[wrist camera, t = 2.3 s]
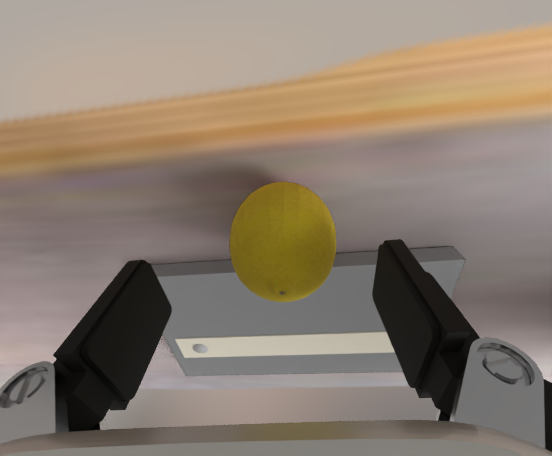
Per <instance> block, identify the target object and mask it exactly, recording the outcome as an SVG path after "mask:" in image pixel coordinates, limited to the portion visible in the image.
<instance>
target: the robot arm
mask: <svg viewBox="0 0 552 456" xmlns="http://www.w3.org/2000/svg"><path fill="white" fill-rule="evenodd" d="M372 297H373V301H374V303H375V306H376V308H377V311H378V313H379V315H380V318H381V320H382V323H383V325H384V327H385V330H386V332H387V335H388V337H389V339H390V342H391V344H392V347H393V349H394V351H395V354H396V356H397V358H398V361H399V363H400V366H401V368H402V370H403V373H404V375H405V378H406V380H407V382H408V384H409V386H410V387H411V388H415V389H416V391H417V394H418V396H419V398H432V400H433V402H434V404H435V407H436V408H438V409H439V410H438V413H437V417H436V421H431V420H430V421H429V420H380V421H379V420H377V421H336V422H302V423H269V424H240V425H213V426H185V427H159V428H134V429H109V430H107V424H106V419H105V415H106V413H107V411H108V409H110V410H125V409H126V407H127V405H128V403H129V401H130V400H131V399H132V398H133V397H134V396H135V394H136V392H137V390H138V388H139V386H140V383H141V381H142V379H143V377H144V374H145V372H146V370H147V368H148V365H149V363H150V361H151V359H152V356H153V354H154V352H155V350H156V347H157V345H158V343H159V341H160V338H161V336H162V334H163V332H164V329H165V327H166V325H167V323H168V320H169V318H170V316H171V313H172V307H171V304H170V302H169V300H168V298H167V296H166V294H165V292H164V290H163V288H162V286H161V284H160V282H159V280H158V278H157V276H156V274H155V272H154V270H153V268H152V266H151V264H149V263H147V262H146V261H145V260H136V261H129V262H127V263H126V265H125V266H124V267H123V268H122V270H121V271H120V272H119V273H118V275H117V276H116V277H115V278H114V280H113V281H112V282H111V283H110V285H109V286H108V287H107V288H106V290H105V291H104V292H103V293H102V295H101V296H100V297H99V298H98V300H97V301H96V302H95V303H94V305H93V306H92V307H91V308H90V310H89V311H88V312H87V313H86V315H85V316H84V317H83V318H82V320H81V321H80V322H79V323H78V325H77V326H76V327H75V328H74V330H73V331H72V332H71V333H70V335H69V336H68V337H67V338H66V340H65V341H64V342H63V343H62V345H61V346H60V347H59V348H58V350H57V351H56V352H55V353H54V355H53V356H54V357H56V358H57V360H56V361H55V362H54V364H52V363H50V362H45V361H43V362H39V363H35V364H33V365H30V366H28V367H26V368H24V369H23V370H21V371H20V372H18V373H17V374H15V375H14V376H13V377H12V378H10V379H9V380H8V381H7V382H6V383H5V384H4V385H3V386H2V387H1V388H0V456H552V383H551V382H549V381H547V380H545V379H543V376H542V372H541V371H540V369H539V368H538V366H537V364H536V363H535V362H534V361H533V360H532V359H531V358H530V357H529V356H528V355H527V354H525V353H524V352H523V351H521V350H520V349H519V348H517V347H515V346H513V345H511V344H509V343H507V342H505V341H502V340H499V339H495V338H487V337H486V338H480V337H479V336H478V334H477V333H476V332H475V330H474V329H473V328H472V327H471V325H470V324H469V323H468V321H467V320H466V319H465V317H464V316H463V315H462V313H461V312H460V311H459V309H458V308H457V307H456V306H455V304H454V303H453V302H452V300H451V299H450V298H449V296H448V295H447V294H446V292H445V291H444V290H443V289H442V287H441V286H440V285H439V283H438V282H437V281H436V279H435V278H434V277H433V276H432V275H431V274H430V273H429V272H425V270H424V269H423V268H422V266H421V265H420V264H419V262H418V261H417V260H416V258H415V257H414V256H413V254H412V253H411V252H410V250H409V249H408V247H407V246H406V245H405V243H404V242H403V241H402V240H400V239H399V240H386V241H384V244H382V245H380V246H379V250H378V257H377V264H376V270H375V277H374V284H373V291H372Z"/></svg>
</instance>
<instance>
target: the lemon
mask: <svg viewBox="0 0 552 456" xmlns="http://www.w3.org/2000/svg"><path fill="white" fill-rule="evenodd" d="M229 246H230V254H231V259H232V265H233V267H234V270H235V272H236V274H237V276H238V278H239V279H240V281H241V282H242V283H243V284H244V285H245V286H246V287H247V288H248V289H249V290H250V291H251V292H253V293H254V294H256V295H257V296H259V297H262V298H264V299H266V300H270V301H275V302H291V301H296V300H299V299H302V298H305V297H306V296H308V295H310V294H312V293H313V292H315V291H316V290H317V289H318V288H319V287H320V286H321V285H322V284H323V283H324V282H325V280H326V278H327V277H328V275H329V274H330V272H331V269H332V266H333V262H334V259H335V254H336V231H335V225H334V222H333V220H332V217H331V214H330V212H329V210H328V208H327V207H326V205H325V204H324V203H323V201H322V200H321V199H320V198H319V196H317V195H316V194H315V193H313V192H312V191H311V190H309V189H308V188H306V187H304V186H301V185H299V184H297V183H290V182H276V183H271V184H268V185H265V186H262V187H260V188H259V189H257V190H256V191H254V192H253V193H251V194H250V195H249V196H248V197H247V198H246V200H245V201H244V202H243V203H242V204H241V205H240V207H239V209H238V211H237V213H236V215H235V217H234V220H233V222H232V226H231V234H230V244H229Z"/></svg>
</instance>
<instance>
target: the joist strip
mask: <svg viewBox="0 0 552 456" xmlns="http://www.w3.org/2000/svg"><path fill="white" fill-rule="evenodd" d="M175 340H176V342H177V344H178V346H179V348H180V350H181V352H182V354H183V356H184V357H185V358H200V357H238V356H277V355H315V354H353V353H392V352H395V351H394V349H393V347H392V344H391V342H390V339H389V337H388V335H387V332H386V331H376V332H346V333H316V334H287V335H257V336H227V337H197V338H175Z"/></svg>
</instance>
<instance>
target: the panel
mask: <svg viewBox="0 0 552 456" xmlns="http://www.w3.org/2000/svg"><path fill="white" fill-rule="evenodd" d="M409 250H410V252H411V253H412V254H413V256H414V257H415V258H416V260H417V261H418V262H419V264H420V265H421V266H422V268H423V269H424V270H425V272H429V273H430V274H431V275H432V276H433V277H434V278H435V279H436V281H437V282H438V283H439V285H440V286H441V287H442V289H443V290H444V291H445V292H446V294H447V295H448V296H449V298H450V299H451V296H452V294H453V291H454V289H455V286H456V283H457V281H458V278H459V276H460V273H461V270H462V268H463V265H464V263H465V260H466V259H465V258H464V257H463V256H462V255H461V254H460V253H459V252H458V251H457V250H456V249H455V248H454V247H453V246H452V247H436V248H419V249H409ZM377 257H378V251H370V252H353V253H337V254H335V259H334V262H333V266H332V269H331V272H330V274H329V275H328V277H327V278H326V280H325V282H324V283H323V284H322V285H321V286H320V287H319V288H318V289H317V290H316V291H315V292H313V293H312V294H310V295H308V296H306V297H305V298H302V299H299V300H296V301H291V302H275V301H270V300H266V299H264V298H262V297H259V296H257V295H256V294H254V293H253V292H251V291H250V290H249V289H248V288H247V287H246V286H245V285H244V284H243V283H242V282H241V281H240V279H239V278H238V276H237V274H236V272H235V270H234V267H233V265H232V260H222V261H205V262H189V263H172V264H156V265H151V266H152V268H153V270H154V272H155V274H156V276H157V278H158V280H159V282H160V284H161V286H162V288H163V290H164V292H165V294H166V296H167V298H168V300H169V302H170V304H171V307H172V313H171V316H170V318H169V320H168V323H167V325H166V327H165V329H164V332H163V336H164V338H165V340H166V341H167V343H168V345H169V347H170V348H171V350H172V352H173V354H174V356H175V357H176V359H177V361H178V363H179V365H180V366H181V368H182V370H183V372H184V373H185V375H186V376H213V375H264V374H316V373H367V372H403V370H402V368H401V366H400V363H399V361H398V358H397V356H396V354H395V352H392V353H353V354H315V355H277V356H238V357H200V358H185V357H184V356H183V354H182V352H181V350H180V348H179V346H178V344H177V342H176V340H175V338H197V337H227V336H257V335H287V334H316V333H346V332H376V331H386V330H385V327H384V325H383V323H382V320H381V318H380V315H379V313H378V311H377V308H376V306H375V303H374V301H373V297H372V291H373V284H374V277H375V270H376V264H377Z"/></svg>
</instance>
